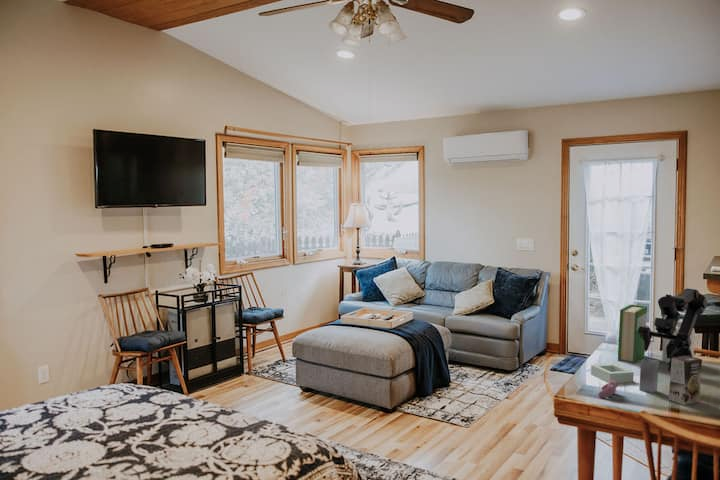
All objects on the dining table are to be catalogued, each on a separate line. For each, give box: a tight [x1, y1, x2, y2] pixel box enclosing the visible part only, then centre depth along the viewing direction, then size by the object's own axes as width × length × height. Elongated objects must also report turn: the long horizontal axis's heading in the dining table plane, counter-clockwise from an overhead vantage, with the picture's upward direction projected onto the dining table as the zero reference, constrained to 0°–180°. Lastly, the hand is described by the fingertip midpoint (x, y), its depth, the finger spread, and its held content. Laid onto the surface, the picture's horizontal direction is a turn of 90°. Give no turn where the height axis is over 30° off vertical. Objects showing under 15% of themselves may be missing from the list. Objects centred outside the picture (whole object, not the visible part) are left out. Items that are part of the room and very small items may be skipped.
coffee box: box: [668, 356, 703, 406], centre depth 204 cm, size 9×6×16 cm
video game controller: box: [598, 381, 619, 399], centre depth 209 cm, size 10×5×7 cm, turn 148°
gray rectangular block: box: [638, 357, 660, 394], centre depth 215 cm, size 5×5×12 cm
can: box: [661, 318, 696, 365], centre depth 254 cm, size 12×12×20 cm
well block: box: [590, 363, 635, 384], centre depth 230 cm, size 11×12×4 cm
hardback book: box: [617, 304, 648, 364], centre depth 260 cm, size 18×7×24 cm, turn 140°
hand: (657, 353), depth 219 cm, fingers open, 9 cm apart
